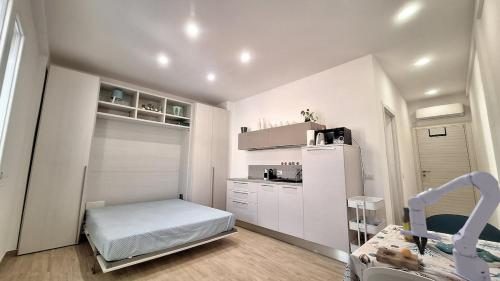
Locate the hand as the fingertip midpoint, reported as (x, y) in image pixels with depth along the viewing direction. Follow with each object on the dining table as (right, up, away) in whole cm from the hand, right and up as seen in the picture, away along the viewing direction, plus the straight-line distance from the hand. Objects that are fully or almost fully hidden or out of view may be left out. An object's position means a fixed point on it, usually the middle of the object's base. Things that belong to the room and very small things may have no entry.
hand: (422, 253), depth 93 cm
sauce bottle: (+19, -9, +31) cm, 38 cm away
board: (-7, -6, +6) cm, 11 cm away
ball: (-5, -2, +4) cm, 6 cm away
